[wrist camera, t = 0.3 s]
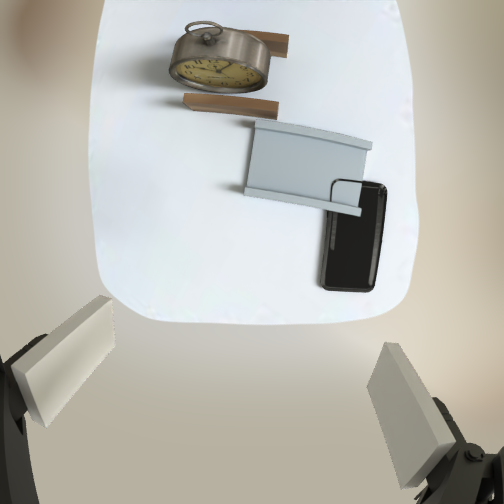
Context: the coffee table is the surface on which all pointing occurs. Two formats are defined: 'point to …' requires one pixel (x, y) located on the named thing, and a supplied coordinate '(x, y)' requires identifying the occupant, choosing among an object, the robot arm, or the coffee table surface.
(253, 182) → the cradle
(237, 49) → the alarm clock
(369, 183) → the phone
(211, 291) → the coffee table surface
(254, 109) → the channel
